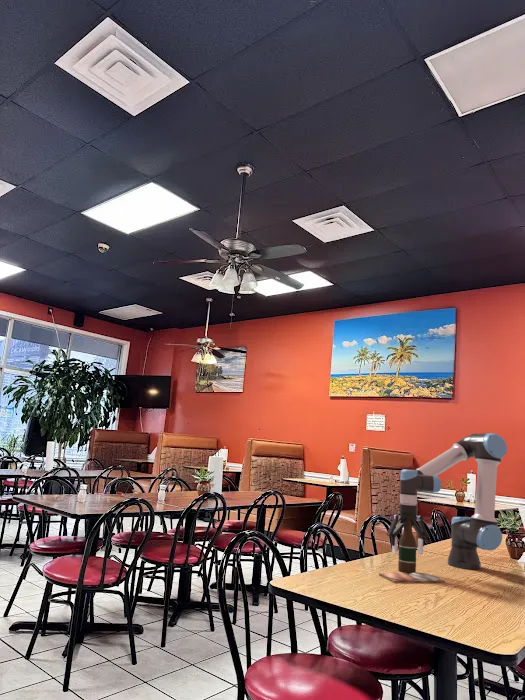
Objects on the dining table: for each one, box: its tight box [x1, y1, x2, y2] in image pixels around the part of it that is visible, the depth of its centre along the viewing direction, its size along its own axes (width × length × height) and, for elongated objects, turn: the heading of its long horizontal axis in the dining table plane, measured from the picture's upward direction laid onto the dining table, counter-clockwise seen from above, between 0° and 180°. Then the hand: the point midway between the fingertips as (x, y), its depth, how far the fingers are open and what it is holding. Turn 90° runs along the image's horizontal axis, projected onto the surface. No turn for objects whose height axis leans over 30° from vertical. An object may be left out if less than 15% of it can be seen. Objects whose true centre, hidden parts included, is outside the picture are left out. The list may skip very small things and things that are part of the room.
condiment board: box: [378, 572, 446, 584], centre depth 212 cm, size 24×12×1 cm, turn 106°
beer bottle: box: [397, 516, 417, 574], centre depth 228 cm, size 8×8×24 cm
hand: (407, 553), depth 227 cm, fingers open, 12 cm apart
